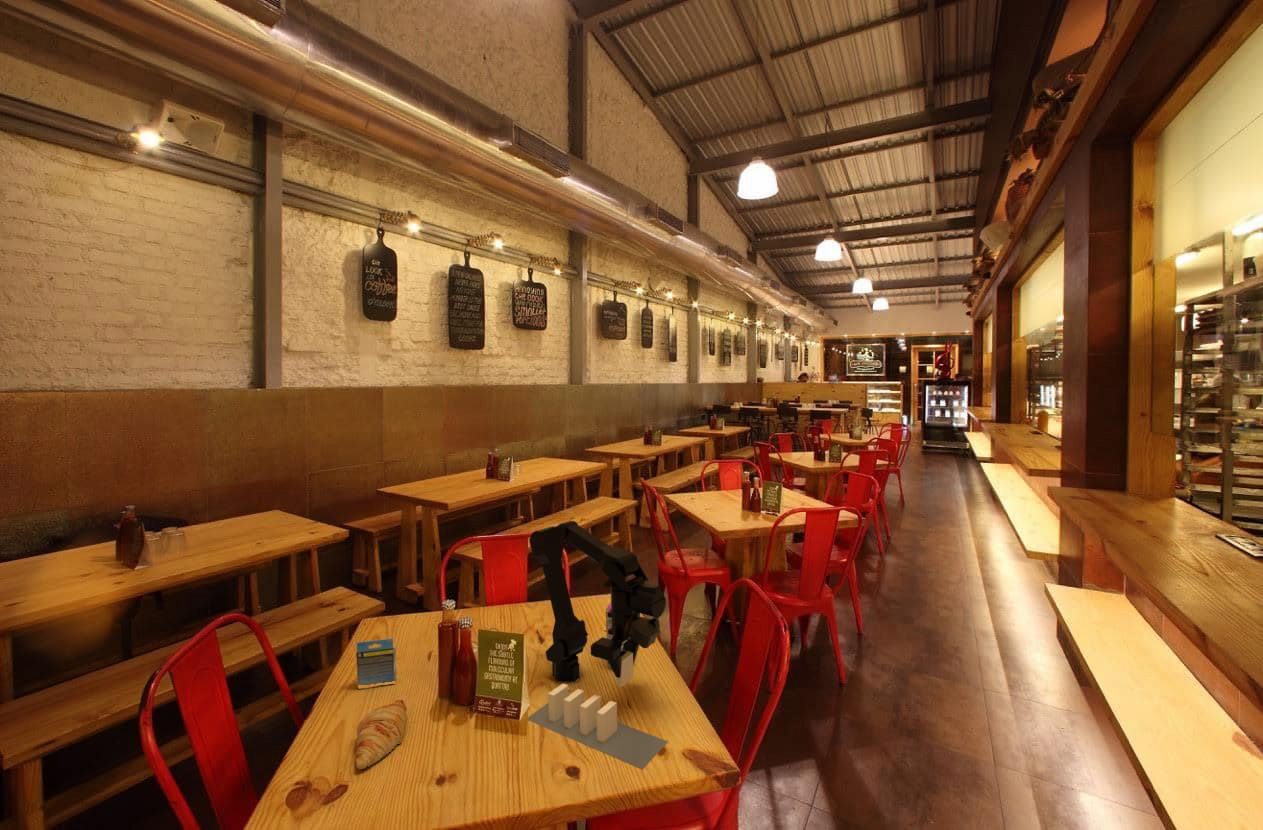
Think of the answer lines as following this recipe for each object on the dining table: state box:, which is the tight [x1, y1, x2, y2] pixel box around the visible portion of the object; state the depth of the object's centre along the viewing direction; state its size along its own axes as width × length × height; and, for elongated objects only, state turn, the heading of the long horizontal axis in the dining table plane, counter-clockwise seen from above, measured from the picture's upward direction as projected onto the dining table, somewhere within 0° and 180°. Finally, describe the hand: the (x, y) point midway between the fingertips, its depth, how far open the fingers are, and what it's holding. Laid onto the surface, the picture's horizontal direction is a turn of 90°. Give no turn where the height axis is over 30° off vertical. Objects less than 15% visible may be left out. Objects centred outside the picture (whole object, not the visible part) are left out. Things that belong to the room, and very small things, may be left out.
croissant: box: [355, 699, 408, 770], centre depth 117 cm, size 21×10×8 cm, turn 4°
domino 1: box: [547, 683, 570, 722], centre depth 123 cm, size 2×5×6 cm, turn 147°
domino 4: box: [597, 700, 618, 743], centre depth 116 cm, size 2×5×6 cm, turn 146°
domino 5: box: [615, 651, 634, 688], centre depth 129 cm, size 2×5×6 cm, turn 147°
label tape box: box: [355, 637, 398, 686], centre depth 140 cm, size 9×4×12 cm, turn 105°
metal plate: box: [525, 702, 669, 770], centre depth 118 cm, size 31×10×1 cm, turn 57°
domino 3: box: [580, 694, 601, 736], centre depth 118 cm, size 2×5×6 cm, turn 146°
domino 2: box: [564, 688, 585, 729], centre depth 121 cm, size 2×5×6 cm, turn 146°
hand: (624, 672), depth 129 cm, fingers closed on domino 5, 5 cm apart
